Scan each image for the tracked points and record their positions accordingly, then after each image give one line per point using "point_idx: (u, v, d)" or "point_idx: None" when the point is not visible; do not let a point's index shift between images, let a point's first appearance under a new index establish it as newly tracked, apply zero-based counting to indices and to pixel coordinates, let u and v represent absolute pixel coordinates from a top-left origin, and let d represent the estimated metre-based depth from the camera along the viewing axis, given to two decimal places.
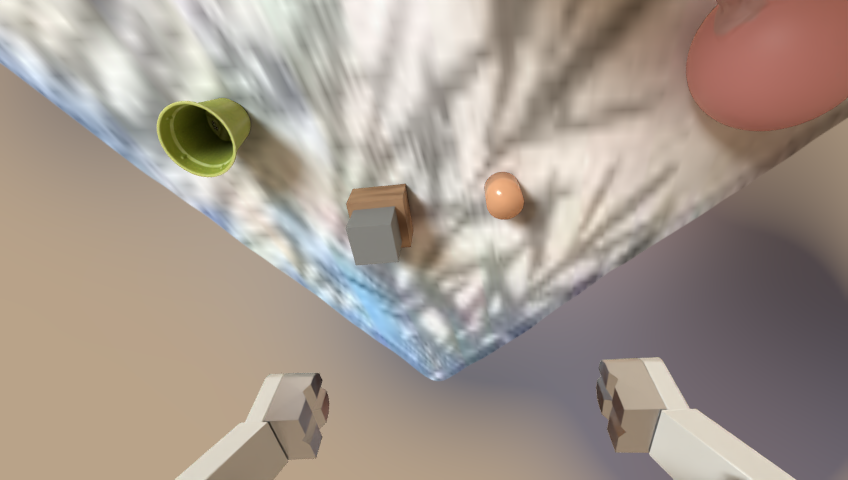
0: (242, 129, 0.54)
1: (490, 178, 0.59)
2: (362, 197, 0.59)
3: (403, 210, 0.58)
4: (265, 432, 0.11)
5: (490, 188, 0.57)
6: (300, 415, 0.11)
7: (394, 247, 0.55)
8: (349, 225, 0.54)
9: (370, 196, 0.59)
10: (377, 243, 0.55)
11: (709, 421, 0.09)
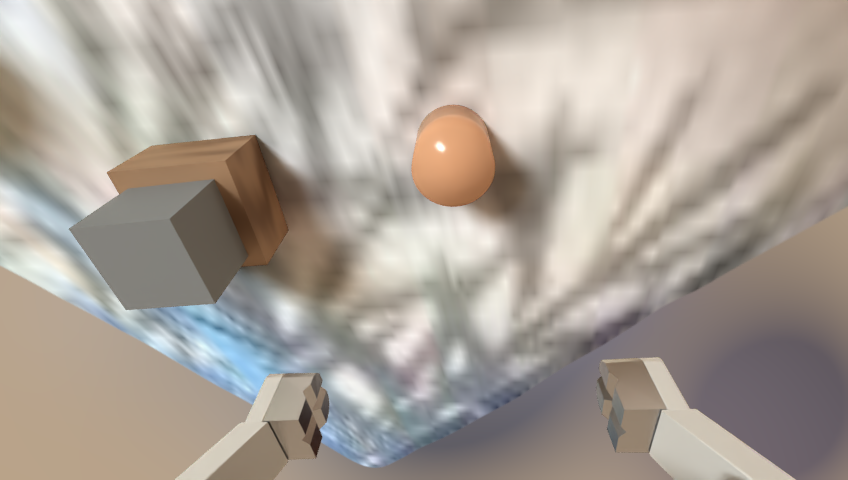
0: None
1: (426, 119, 0.27)
2: (152, 159, 0.27)
3: (234, 187, 0.26)
4: (265, 432, 0.11)
5: (420, 137, 0.25)
6: (300, 415, 0.11)
7: (196, 272, 0.24)
8: (83, 222, 0.23)
9: (169, 157, 0.27)
10: (154, 263, 0.24)
11: (709, 422, 0.09)
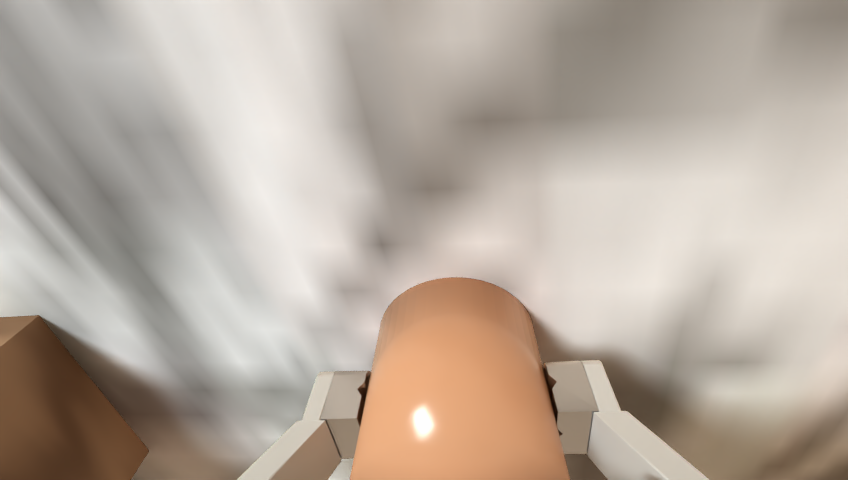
0: None
1: (396, 315, 0.12)
2: None
3: None
4: (323, 430, 0.10)
5: (374, 398, 0.10)
6: (358, 413, 0.11)
7: None
8: None
9: None
10: None
11: (638, 424, 0.09)
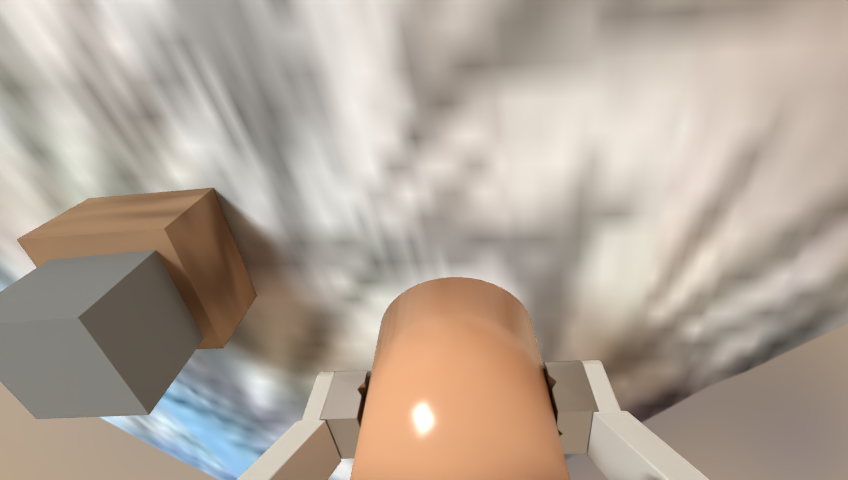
0: None
1: (397, 314, 0.12)
2: (79, 220, 0.22)
3: (177, 260, 0.21)
4: (323, 430, 0.10)
5: (375, 398, 0.10)
6: (358, 413, 0.11)
7: (120, 380, 0.18)
8: None
9: (100, 218, 0.22)
10: (64, 368, 0.18)
11: (638, 424, 0.09)
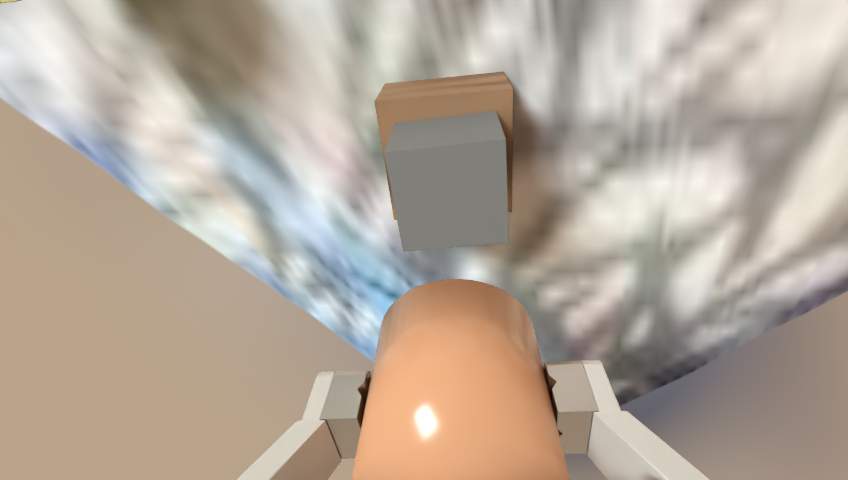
0: None
1: (397, 316, 0.12)
2: (411, 91, 0.25)
3: (510, 120, 0.24)
4: (322, 430, 0.10)
5: (375, 400, 0.10)
6: (358, 413, 0.11)
7: (505, 205, 0.22)
8: (394, 147, 0.21)
9: (431, 89, 0.25)
10: (462, 194, 0.22)
11: (638, 424, 0.09)
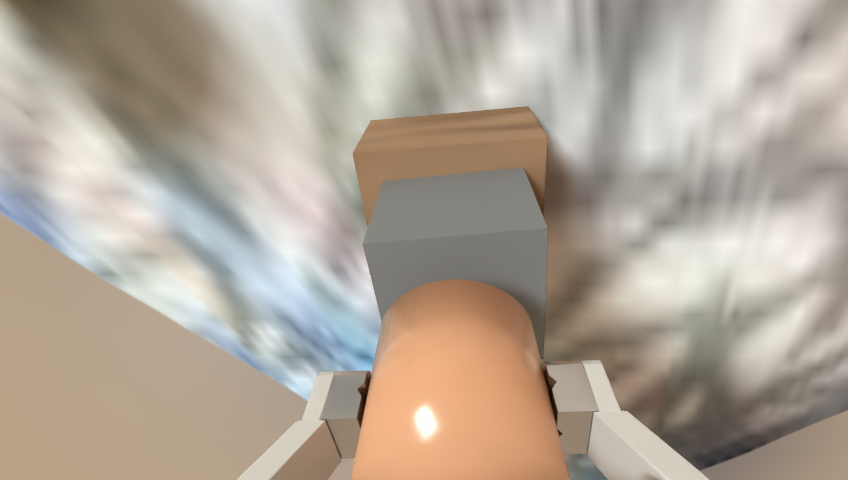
0: None
1: (397, 316, 0.12)
2: (404, 136, 0.19)
3: (541, 180, 0.17)
4: (323, 430, 0.10)
5: (375, 400, 0.10)
6: (358, 413, 0.11)
7: (541, 313, 0.15)
8: (378, 233, 0.14)
9: (431, 133, 0.18)
10: None
11: (638, 423, 0.09)
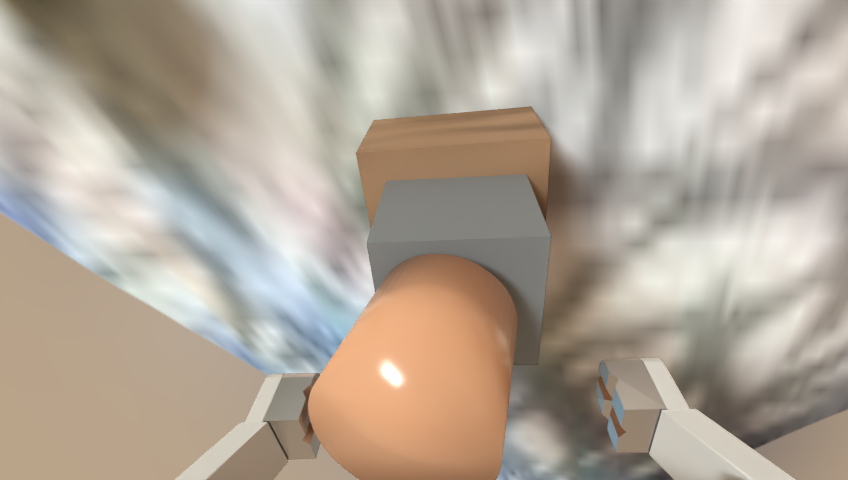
0: None
1: (403, 271, 0.13)
2: (407, 136, 0.19)
3: (545, 180, 0.17)
4: (265, 432, 0.11)
5: (360, 326, 0.11)
6: (300, 415, 0.11)
7: (538, 320, 0.15)
8: (382, 233, 0.14)
9: (434, 133, 0.18)
10: None
11: (709, 422, 0.09)
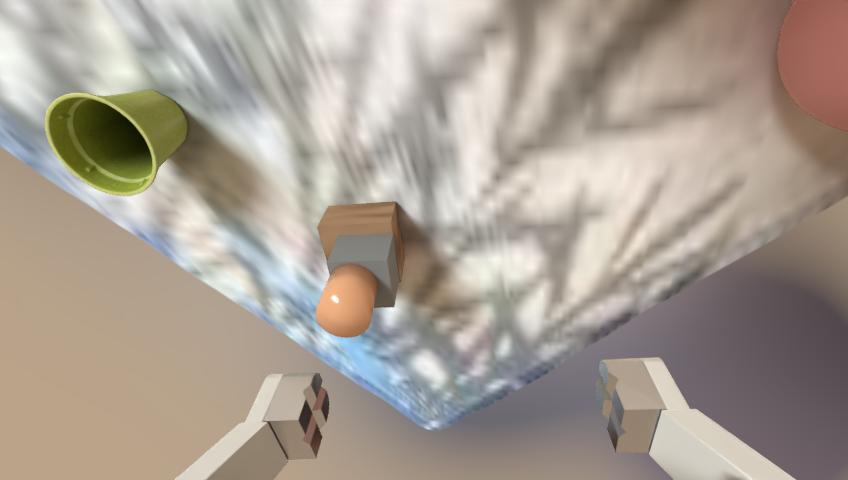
0: (172, 132, 0.41)
1: (357, 270, 0.40)
2: (339, 217, 0.45)
3: None
4: (265, 432, 0.11)
5: (347, 285, 0.37)
6: (300, 415, 0.11)
7: (390, 289, 0.42)
8: (332, 258, 0.41)
9: (350, 217, 0.45)
10: None
11: (709, 422, 0.09)
